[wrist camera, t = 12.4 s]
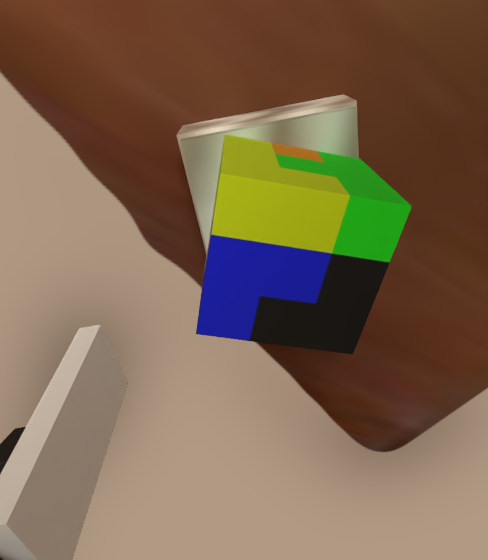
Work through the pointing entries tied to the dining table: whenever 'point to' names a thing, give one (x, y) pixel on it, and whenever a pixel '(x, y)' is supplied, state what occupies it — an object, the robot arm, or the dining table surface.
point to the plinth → (270, 128)
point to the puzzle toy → (296, 246)
